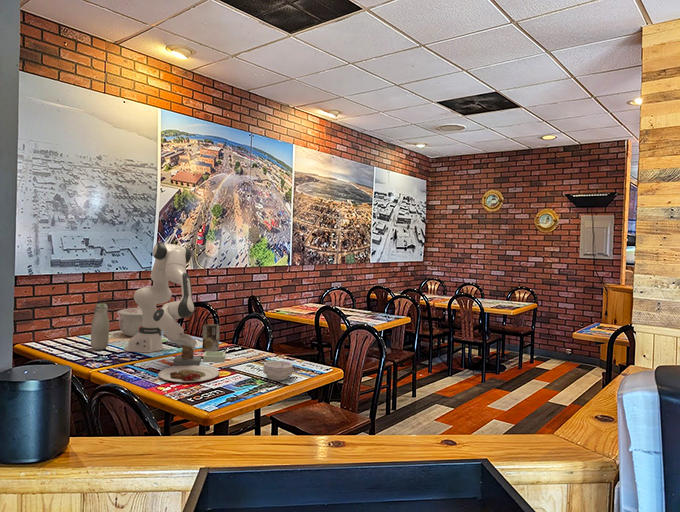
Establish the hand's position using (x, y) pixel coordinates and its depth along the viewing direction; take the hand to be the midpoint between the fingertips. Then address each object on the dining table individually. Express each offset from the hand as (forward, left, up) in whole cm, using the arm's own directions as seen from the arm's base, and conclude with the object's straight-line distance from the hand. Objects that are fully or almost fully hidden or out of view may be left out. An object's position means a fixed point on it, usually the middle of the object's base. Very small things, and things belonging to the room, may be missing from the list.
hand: (188, 347), depth 277 cm
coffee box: (+10, +34, -9) cm, 36 cm away
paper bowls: (+49, -29, -9) cm, 58 cm away
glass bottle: (-55, +31, -9) cm, 64 cm away
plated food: (+4, -25, -9) cm, 27 cm away
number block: (0, 0, -6) cm, 6 cm away
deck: (0, 0, -9) cm, 9 cm away
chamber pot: (-43, +77, -9) cm, 88 cm away
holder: (+14, +10, -9) cm, 19 cm away
